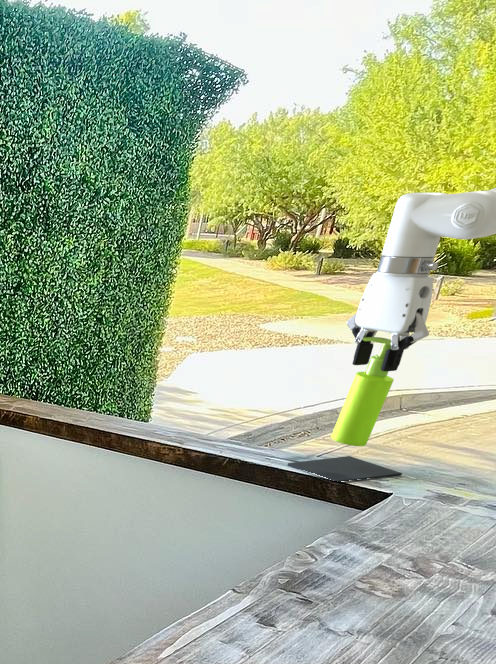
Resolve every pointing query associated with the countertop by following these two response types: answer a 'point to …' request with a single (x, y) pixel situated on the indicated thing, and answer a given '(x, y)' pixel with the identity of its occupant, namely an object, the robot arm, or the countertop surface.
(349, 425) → the soap dispenser
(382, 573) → the countertop surface
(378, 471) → the mat
